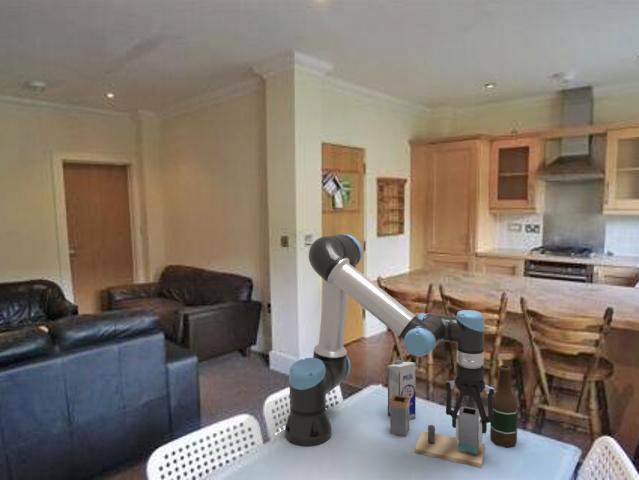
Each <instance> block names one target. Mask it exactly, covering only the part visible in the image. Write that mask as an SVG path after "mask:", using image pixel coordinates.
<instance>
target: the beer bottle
mask: <svg viewBox="0 0 639 480" xmlns="http://www.w3.org/2000/svg"><path fill="white" fill-rule="evenodd" d="M498 371H499V372H498V380H497V381H498V382H497V390H496V391H495V392H494V394H493V416H494V418H493V422H492V423H490V428H489V429H490V441H491V442H492V443H493V444H495V446H499V447H502V448H507V449H509V448H513V447H515V446H516V444H517V440H518V413H519V412H518V402H517V398H516V396H515V394H514V393H513V390H512V377H511V372H512V368H511V367H510V366H509V365H506V364H503V365H499V366H498Z"/></svg>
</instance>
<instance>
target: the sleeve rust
mask: <svg viewBox="0 0 639 480" xmlns="http://www.w3.org/2000/svg"><path fill="white" fill-rule="evenodd" d="M409 403H410V397H406V396H400V395H393V397H392V398H391V400H390V401H389V405H390V416H389V417H390V419H389V420H390V421H389V422H390V424H389V425H390V428H389V429H390V434H391V435H393V436H399V437H404V438H406V437H407V435H408V433H409V431H410V420H409Z"/></svg>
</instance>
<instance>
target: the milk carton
mask: <svg viewBox="0 0 639 480" xmlns="http://www.w3.org/2000/svg"><path fill="white" fill-rule="evenodd" d="M416 364H417V363H416V362H412V361H403V360H402V359H397V360H393V364H390V365H387V415H388V416H389V417H390V405H389V401H390V400H391V398H392V397H393V395H400V396H406V397H410V403H409V421H411V420H414V419H416Z"/></svg>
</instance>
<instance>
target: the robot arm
mask: <svg viewBox="0 0 639 480" xmlns="http://www.w3.org/2000/svg"><path fill="white" fill-rule="evenodd" d="M362 257H363V249H362V245H361V243H360V242H359V240H357V238H355V236H353V235H351V234H347V233H337V234H334V235H333V234H332V235H325V236H320V237H318V238H317V239H315V241H313V243H311V245H310V247H309V250H308V261H309V263H310V266H311V268H312V269H313V270H314V272H316V274H317V275H318V276H319V277H321V278H322V279H323V280H324V281H323V291H322V292H323V294H322V301H321V302H322V306H321V316H320V325H319V326H320V327H319V337H318V344H317V345H315V346H314V347H313V354H312V355H313V356H312V357H305V358H303V359H302V358H301V359H299V360H296V361H295V362H294V363H293V364H292V365H291V366H290V367H289V375H288V383H289V414H288V417H287V421H286V424H285V427H284V428H285V429H284V431H285V433H284V434H285V435H284V436H285V438H286V440H287V441H288V442H290V443H291V444H294V445H298V446H301V447H313V446H316V445H321V444H323V443H325V442H327V441H328V440H329V439H330V438H331V436H332V424H331V421H330V418H329V416H328V412H327V407H326V406H327V403H326V402H327V401H326V400H327V399H326V398H327V397H326V395H327V394H329V393H330V392H331V391H332V390H334V389H335V388H337V387H338V386H340V385H341V384H342V383H344V381H345V380H346V379H347V378H348V377H349V374H350V372H351V368H352V367H351V361H350V358H349V357H348V350H347V349H346V348H345V347H344V342H345V341H344V340H345V333H346V332H345V331H346V322H347V321H346V320H347V312H348V311H347V310H348V301H349V297H350V298H352V299H353V300H354V301H355V302H356V303H358V304H359V305H360V306H361V307H363V308H364V309H365V310H367V312H368V313H370V314H371V315H372V316H373V317H375V318H376V319H377V320H378V321H380V323H382V324H384V325H385V326H386V327H387V328H388V329H390V330H391V331H392V332H393V333H395V334H396V335H397V336H398V337H399V338H400V339H402V341H403V344H404V346H405V349H406V351H407V352H408V353H409V354H410V355H412V356H415V357H419V358H420V357H424V356H426V355H428V354H429V353H431V352H433V351H434V349H435V347H436V346H437V345H439V343H441V342H447V343H455V344H456V367H455V368H456V374H455V376H456V377H455V378H454V379H452V380H450V379H446V381H445V387H446V401H445V402H446V405H445V414H446V415H449V416H451V426H452V428H454V429H455V438H456V440H459V414H458V413H459V411H460V409H461V406H462V405H461V404H462V401H463V399H464V397H465V396H466V397H471V398H474V401H475V403H476V407H477V409H478V410H479V445H482V443H483V434H484V435H485V434H487V430H488V428H487V427H488V425H487V424H488V423H490V424H491V423H492V422H493V418H494V416H493V396H494V394H495V387H494V385H493V386H492V385H491V386H490V385H487V384H486V383H485V381H484V380H485V379H484V373H485V372H484V370H485V369H484V367H485V366H484V364H485V363H484V362H485V317H484V314H483V313H481V312H480V311H478V310H472V309H468V310H466V309H462V310H460V311H457V313H456V316H452V315H451V316H450V315H442V314H434V313H430V312H429V313H423V312H421V313H419V314H418V315H417V316H416V315H415V314H414V313H413V312H412V311H410V310H409V309H407V307H405V306H404V305H402V303H400V302H399V301H397V299H395V298H394V297H392V296H391V294H389V293H387V292H386V291H385V290H383V289H382V288H381V287H380V286H379V285H377V284H376V283H375V282H373V281H372V280H371V279H370V278H368V277H367V276H366V275H365V274H363V273H362V272H360V271H359V270H358V269H356V267H357V265H358V264H359V263H360V261H361V259H362ZM455 386H456V388H457V389H458V390H459V395H458V398H457V401H456V403H455V406H454V409H452V401H453V389H455V388H454V387H455ZM483 390H484V391H485V394H487V413H486V410H485V406H484V404H483V400H482V396H481V393H482V392H483Z"/></svg>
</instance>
